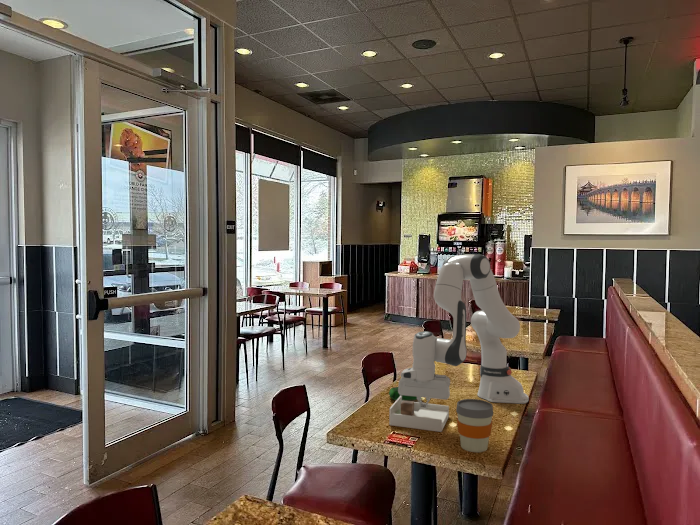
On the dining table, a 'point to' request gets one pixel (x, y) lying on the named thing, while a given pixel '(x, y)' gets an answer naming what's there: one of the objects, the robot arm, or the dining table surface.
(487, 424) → the reusable coffee cup
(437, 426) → the box
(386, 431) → the dining table surface
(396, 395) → the snack package
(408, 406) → the walnut cube
